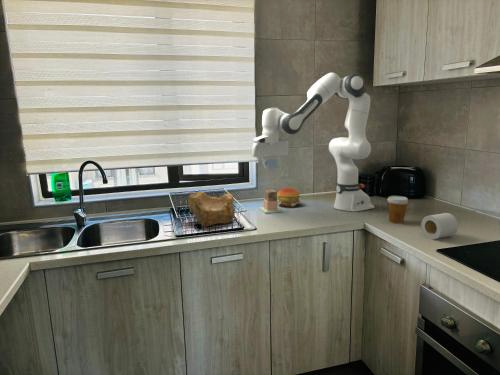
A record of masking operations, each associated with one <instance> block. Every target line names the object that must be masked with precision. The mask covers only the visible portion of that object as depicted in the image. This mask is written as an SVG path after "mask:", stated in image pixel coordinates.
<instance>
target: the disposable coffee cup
mask: <svg viewBox="0 0 500 375" xmlns="http://www.w3.org/2000/svg"><path fill="white" fill-rule="evenodd" d="M386 201H387V204H388V205H387V206H388V216H389V217H388V220H389V223H392V224H403V223H404V220H405V214H406V210H407V205H408V203H409V199H408V197H406V196H401V195H391V196H388V198H387V199H386Z"/></svg>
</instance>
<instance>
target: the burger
mask: <svg viewBox="0 0 500 375" xmlns="http://www.w3.org/2000/svg"><path fill="white" fill-rule="evenodd" d="M300 197H301V196H300V192H299V191H298V190H297V189H295V188H292V187H284V188H281V189H280V190H278V191H277V201H278V206H281V207H287V208H290V207H291V208H292V207H296V206H298V205H299V204H300V203H301V200H300Z"/></svg>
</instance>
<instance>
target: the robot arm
mask: <svg viewBox="0 0 500 375" xmlns="http://www.w3.org/2000/svg"><path fill="white" fill-rule="evenodd" d="M365 81H366V80H365V78H364V77H363V75H361V74H359V73H350V74H348V75H347V76H345V77H343V78H342V77H340V76H339V75H338V74H337V73H336V72H329V73H326V74H325V75H324V76H321V78H319V79H318V80H317V81H316V82H315V83H313V85H311V87H310V88H309V89H308V91H307V92H306V96H307V100H306V102H305V103H304V104H302V105H301V106H300V107H299V108H298V109H297V110H296V111H295V112H293V113H287V112H284V111H282V110H280V109H279V108H278V107H276V106H275V107H267V108H266V109H264V110H263V112H262V118H261V126H262V131H261V135H259V136H256V137H254V138H253V139H252V140H253V143H252V147H251V155H252V157H253V158H260V159H261V161H262V165H263V166H264V165H267V164H266V163H267V162H266V161H265V160H264V159H266V157H275V159H277V165H278V164H279V161H280V159H281V157H287V156H289V153H290V149H289V139H287V138H285V137H284V138H280V136H279V135H280V132H283V133H286V134H288V135H295V134H297V133H299V132H300V131H301V129H302V128H303V125H304V124H305V122H306V120H307V119H308V118H309V117H310V116H311V115H313V113H315V111H316V110H317V109H319V107H320V106H322V105H323V104H324V103H325V102H327V101H328V100H329V99H330V98H331V97H333V95H336V96H337V97H338V98H339V99H343V100H347V99H348V101H349V104H348V109H347V113H346V116H345V120H344V127H345V129H346V130H348V137H346V136H345V137H344V136H343V137H342V136H341V137H335V138H332V139H331V140H330V142H329V143H328V150H329V153H330V154H331V155H332V157H333V159H334V161H335V164H336V168H337V169H336V170H337V179H336V180H337V182H336V189H335V190H336V191H335V192H336V193H335V194H336V196H335V200H334V204H333V208H334V209H336V210H338V211H339V210H341V211H348V212H355V213H356V212H361V211H366V210H371V209H374V208H375V205H374V204H372V203H371V198H370V196H369V194H367V193H366V192H364V191H363V188H365V184H363V183H359V168H358V167H357V165H355V163H354V161H353V159H354V160H361V159H362V160H364V159H367V158H368V157H369V156H370V154H371V151H372V147H371V146H372V145H371V144H370V142H369V141H368V139H367V135H366V126H367V122H368V118H369V114H370V108H371V96H370V95H369V94H368V93H366V92H367V91H366V89H367V88H366V82H365ZM361 188H362V189H361Z"/></svg>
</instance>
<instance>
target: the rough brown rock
mask: <svg viewBox="0 0 500 375" xmlns="http://www.w3.org/2000/svg"><path fill="white" fill-rule="evenodd" d="M187 201H188V203H187V205H188V208H189V212H190V213H192V214H193V215H194V218H195V219H196V221H198V222H199V223H200V225H201V227H203V228H205V227H209V226H213V225H215V224H230V222H232V220H233V219H234V217H235V205H234V195H233V194H231V193H224V194H223V195H221V196H219V197H218V196H217V197H216V196H209V195H208V194H206V192H203V191H198V192H196V193H191V194H189V195H188V198H187Z"/></svg>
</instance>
